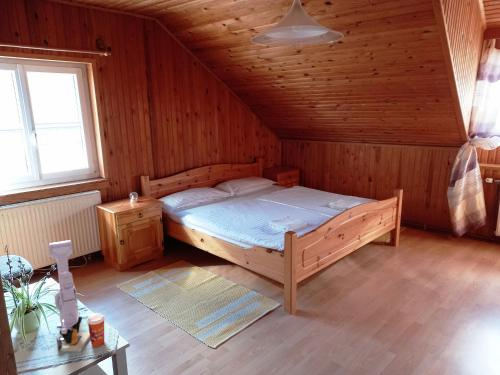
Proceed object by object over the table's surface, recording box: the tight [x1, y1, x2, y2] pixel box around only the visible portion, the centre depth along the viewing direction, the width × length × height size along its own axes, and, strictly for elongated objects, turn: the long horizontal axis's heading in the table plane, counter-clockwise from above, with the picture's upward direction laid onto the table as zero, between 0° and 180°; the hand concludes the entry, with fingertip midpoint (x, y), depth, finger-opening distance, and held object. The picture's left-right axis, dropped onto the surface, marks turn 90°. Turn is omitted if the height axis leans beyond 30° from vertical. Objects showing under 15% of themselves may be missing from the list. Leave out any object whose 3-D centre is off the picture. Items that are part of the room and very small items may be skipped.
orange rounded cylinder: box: [67, 328, 79, 346], centre depth 170 cm, size 4×4×6 cm
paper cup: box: [86, 312, 106, 348], centre depth 170 cm, size 8×8×14 cm
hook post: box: [56, 337, 65, 351], centre depth 167 cm, size 2×3×5 cm, turn 91°
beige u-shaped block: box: [60, 331, 90, 353], centre depth 172 cm, size 12×9×2 cm
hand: (72, 337), depth 170 cm, fingers open, 7 cm apart
